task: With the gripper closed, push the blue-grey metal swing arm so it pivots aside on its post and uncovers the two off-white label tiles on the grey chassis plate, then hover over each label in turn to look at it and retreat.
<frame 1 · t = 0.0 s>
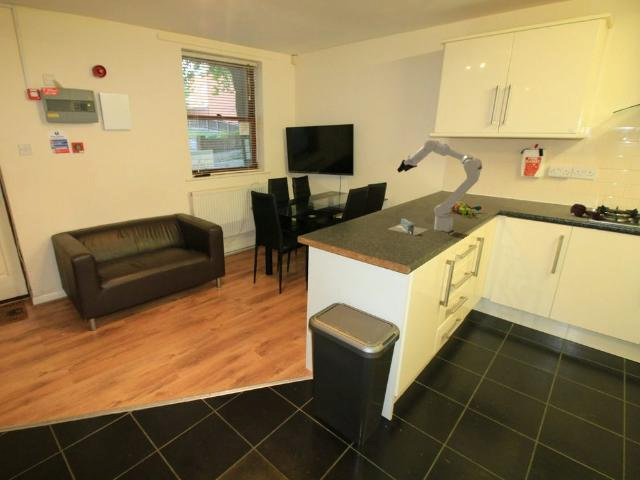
hand: (401, 170, 202), 32 cm above the table, tool tilted 50°, fingers open, 7 cm apart
toy: (460, 213, 240), on the table
swing arm: (408, 224, 191), point 4 cm above the table, hinge at 0.0°
psu label a: (402, 227, 196), resting on chassis
figurine: (584, 217, 226), on the table
chassis: (407, 230, 193), on the table
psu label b: (407, 230, 191), resting on chassis
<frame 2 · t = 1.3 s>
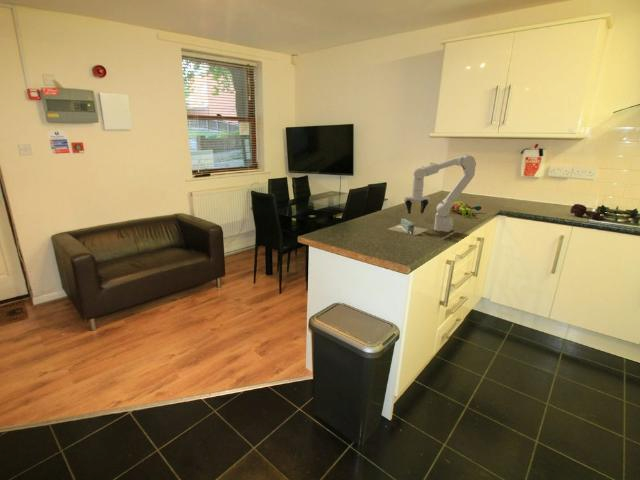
hand: (415, 213, 194), 10 cm above the table, tool pointing down, fingers open, 7 cm apart
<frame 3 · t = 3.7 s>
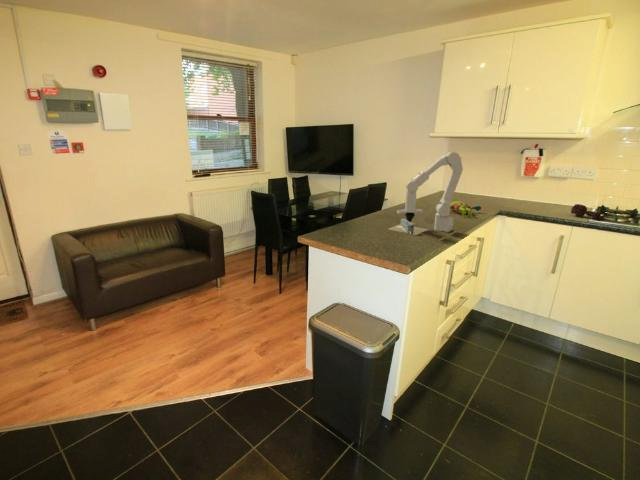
hand: (408, 225, 196), 2 cm above the table, tool pointing down, fingers closed, pressing on swing arm
swing arm: (407, 224, 191), point 4 cm above the table, hinge at 1.0°, touching gripper
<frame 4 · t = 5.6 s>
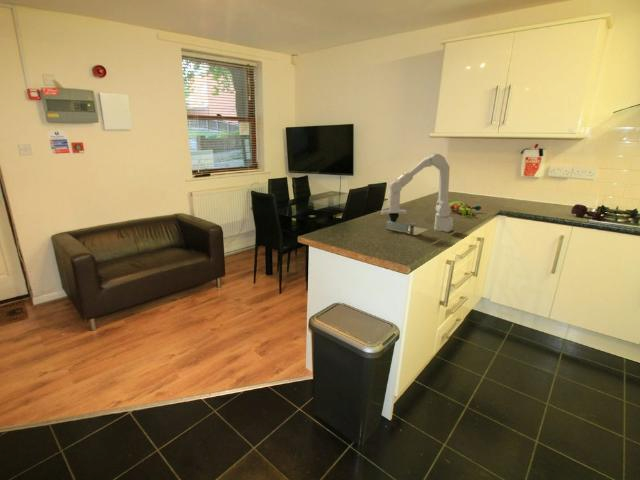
hand: (393, 226, 195), 2 cm above the table, tool pointing down, fingers closed
swing arm: (401, 226, 189), point 4 cm above the table, hinge at 51.9°, touching gripper
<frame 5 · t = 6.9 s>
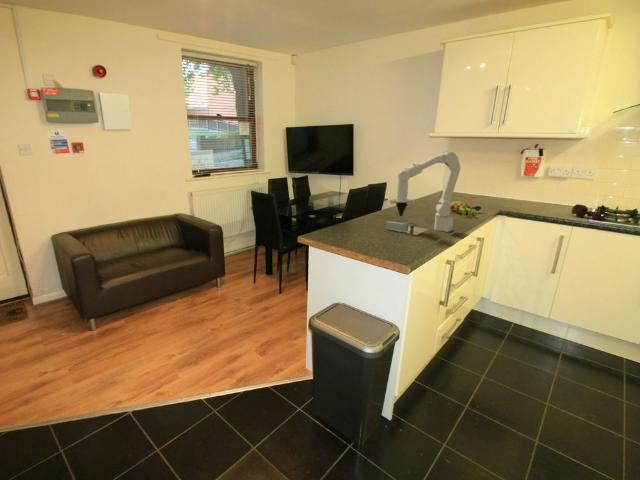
hand: (400, 215, 193), 8 cm above the table, tool pointing down, fingers closed
swing arm: (401, 226, 189), point 4 cm above the table, hinge at 52.0°
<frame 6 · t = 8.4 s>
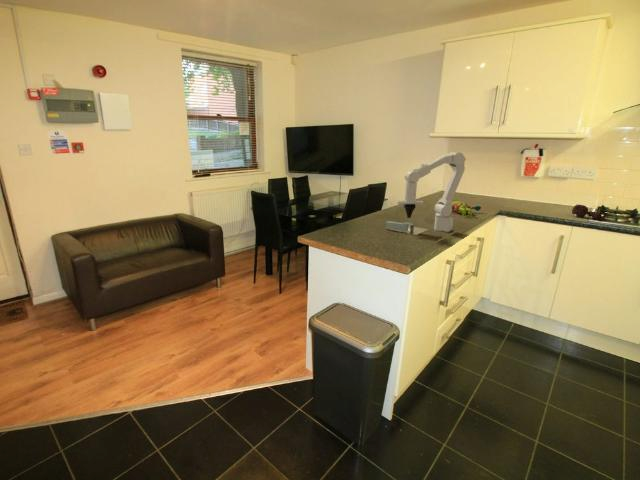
hand: (408, 217, 189), 8 cm above the table, tool pointing down, fingers closed
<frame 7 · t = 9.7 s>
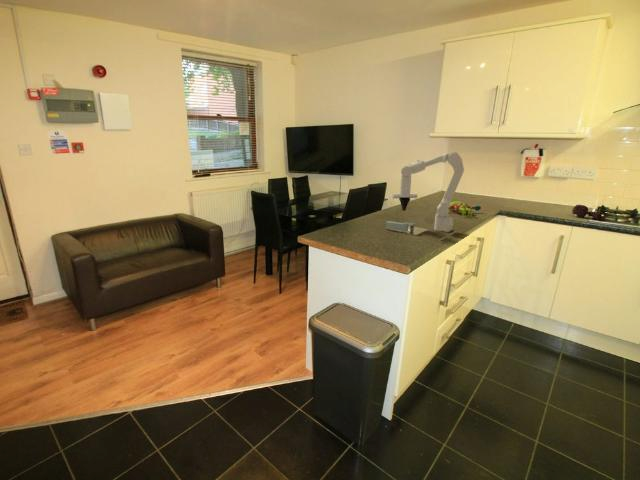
hand: (403, 210, 198), 10 cm above the table, tool pointing down, fingers closed
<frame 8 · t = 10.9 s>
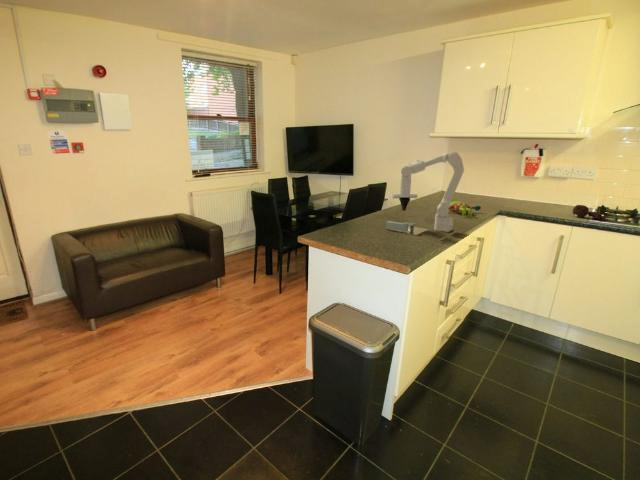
hand: (403, 210, 198), 10 cm above the table, tool pointing down, fingers closed
at the end: swing arm at +52° (first picture: +0°) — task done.
